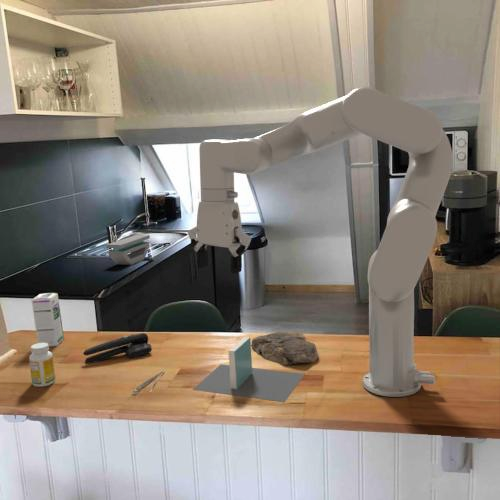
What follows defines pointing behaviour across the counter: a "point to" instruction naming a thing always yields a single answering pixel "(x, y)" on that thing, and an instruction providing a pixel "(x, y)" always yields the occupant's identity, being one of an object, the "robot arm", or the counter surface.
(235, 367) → the tile
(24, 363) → the counter surface
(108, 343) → the can opener
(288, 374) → the mat
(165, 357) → the counter surface
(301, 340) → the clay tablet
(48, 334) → the syrup box
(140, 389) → the old metal nails
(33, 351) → the supplement bottle
